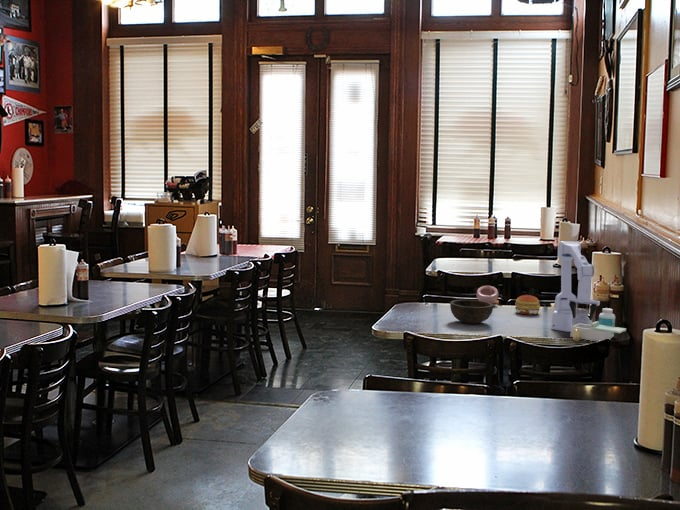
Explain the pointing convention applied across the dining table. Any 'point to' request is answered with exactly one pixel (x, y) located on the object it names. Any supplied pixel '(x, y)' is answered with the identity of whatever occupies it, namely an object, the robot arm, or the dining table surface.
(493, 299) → the pink round pot
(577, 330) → the brass jaw pin
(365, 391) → the dining table surface
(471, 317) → the bowl
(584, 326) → the housing
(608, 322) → the pill bottle
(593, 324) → the lid
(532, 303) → the burger
